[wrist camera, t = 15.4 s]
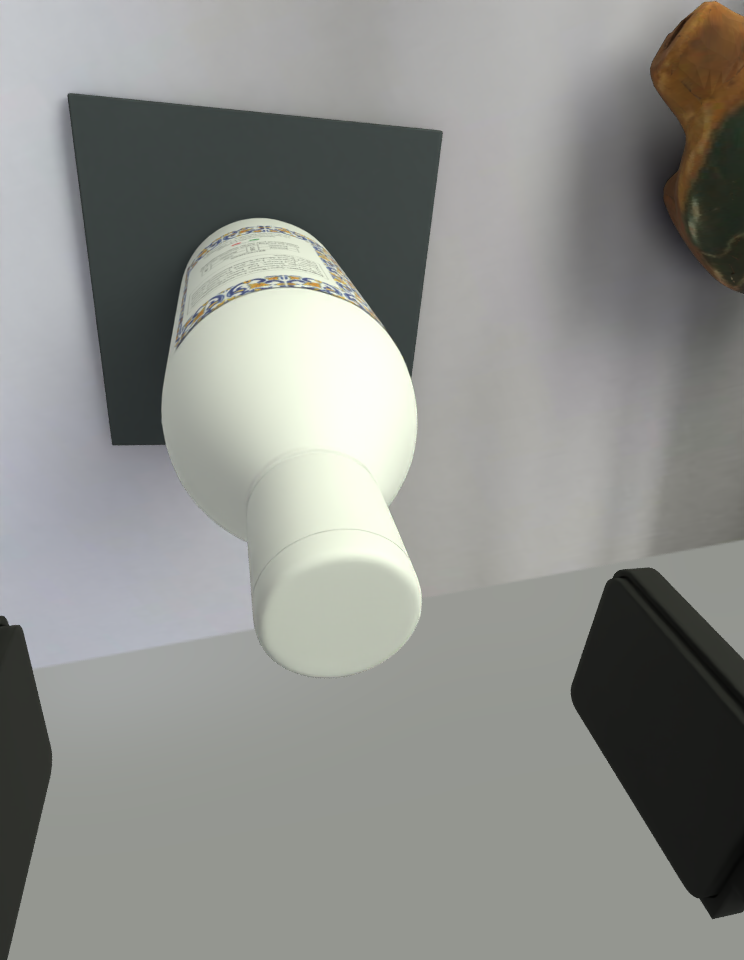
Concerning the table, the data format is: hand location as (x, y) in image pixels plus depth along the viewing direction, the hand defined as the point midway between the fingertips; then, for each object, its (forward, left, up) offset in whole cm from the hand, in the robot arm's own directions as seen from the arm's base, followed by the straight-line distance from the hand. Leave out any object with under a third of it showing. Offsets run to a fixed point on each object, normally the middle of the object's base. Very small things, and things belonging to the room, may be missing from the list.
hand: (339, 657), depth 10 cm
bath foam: (0, 0, -21) cm, 21 cm away
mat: (0, 0, -21) cm, 21 cm away
